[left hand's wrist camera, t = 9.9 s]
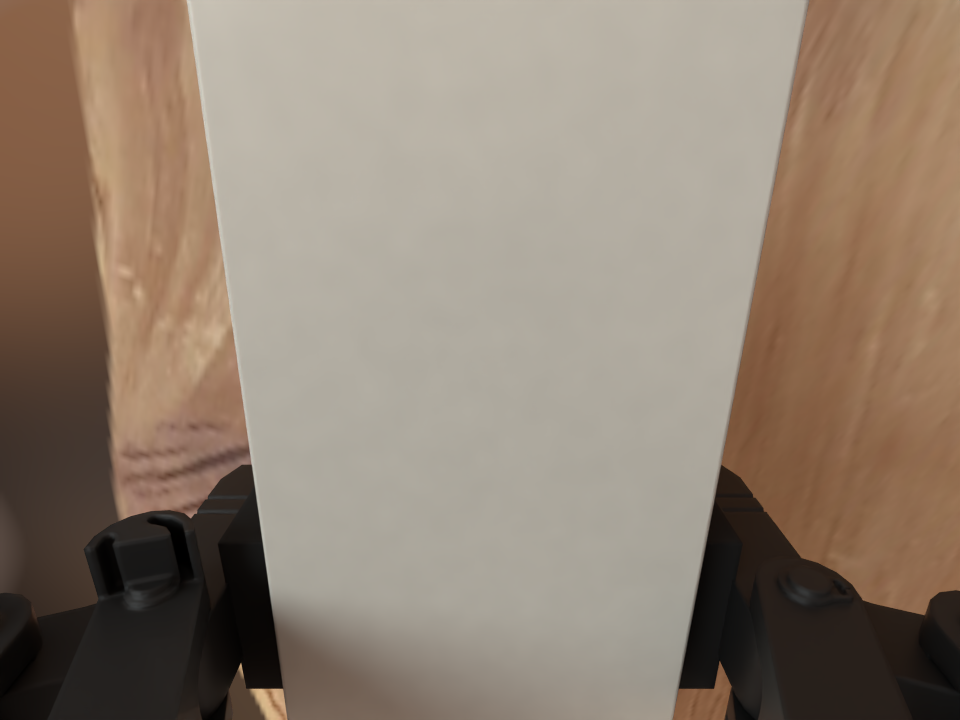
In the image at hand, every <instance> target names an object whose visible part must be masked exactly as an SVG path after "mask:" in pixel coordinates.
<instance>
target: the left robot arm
mask: <svg viewBox="0 0 960 720" xmlns="http://www.w3.org/2000/svg"><path fill="white" fill-rule="evenodd" d="M84 552H85V555H86V558H87V562H88V565H89V568H90V572H91V575H92V578H93V582H94V585H95V588H96V592H97V595H98V598H99V599H98V602H97V604H93V605H90V606H87V607H82V608H78V609H74V610H69V611H65V612H60V613H56V614H51V615H47V616H42V617H38V618H36V615H35V612H34V609H33V606H32V604H31V602H30V601H29V600H28V599H26V598H25V597H24V596H23V595H19V594H11V593H1V594H0V720H232V717H233V709H232V702H231V696H230V691H229V688H230V686H231V683H232V681H233V679H234V677H235V675H236V672H237V670H238V668H239V666H240V664H242V669H243V674H244V679H245V684H246V688H247V689H283V683H282V676H281V669H280V662H279V655H278V647H277V640H276V633H275V626H274V619H273V612H272V605H271V597H270V590H269V583H268V576H267V569H266V562H265V555H264V547H263V540H262V533H261V526H260V519H259V512H258V505H257V497H256V490H255V483H254V476H253V469H252V465H241V466H240V467H238V468H237V469H235V470H234V471H232V472H231V473H229V474H228V475H226V476H225V477H223V478H222V479H221V480H220V481H219V482H218V484H217V485H216V486H215V488H214V489H213V490H212V492H211V493H210V494H209V496H208V500H205V501H204V502H203V504H202V505H201V506H200V508H199V509H198V510H197V514H194V515H193V517H192V518H191V519H190V518H189V517H188V516H187V515H186V514H184V513H180V512H175V511H171V510H165V511H150V512H146V513H142V514H138V515H134V516H130V517H128V518H126V519H123V520H121V521H119V522H117V523H114V524H112V525H110V526H109V527H107V528H106V529H104V530H103V531H101V532H100V533H99V534H97V535H96V536H94V537H93V539H92V540H91V541H90V542H89V544H88V545H87V546H86V547H85V548H84ZM719 661H720V662H721V664H722V666H723V668H724V671H725V673H726V675H727V677H728V679H729V682H730V684H731V686H732V687H731V691H730V696H729V701H728V705H727V710H726V715H725V720H960V591H957V590H955V591H947V592H940V593H938V594H937V595H936V596H934V597H933V598H932V599H931V600H930V602H929V605H928V608H927V611H926V614H925V615H920V614H916V613H911V612H907V611H903V610H898V609H894V608H889V607H885V606H880V605H876V604H872V603H869V602H865V601H862V598H861V597H860V595H859V594H858V593H857V591H856V590H855V588H854V587H853V585H852V584H850V583H849V582H848V581H847V580H845V579H844V578H843V577H842V576H840V575H839V574H838V573H837V572H835V571H833V570H831V569H829V568H827V567H825V566H823V565H821V564H819V563H816V562H813V561H809V560H806V559H802V558H801V557H800V556H799V554H798V553H797V552H796V550H795V549H794V548H793V547H792V545H791V544H790V543H789V541H788V540H787V539H786V537H785V536H784V535H783V533H782V532H781V531H780V529H779V528H778V527H777V525H776V524H775V523H774V522H773V520H772V519H771V518H770V516H769V515H768V514H767V512H764V510H763V507H762V506H761V504H760V503H759V502H758V500H757V499H756V498H753V494H752V493H751V491H750V490H749V489H748V487H747V486H746V485H745V483H744V482H743V481H742V479H741V478H740V477H739V476H737V475H736V474H734V473H733V472H731V471H730V470H728V469H727V468H725V467H724V466H722V465H721V468H720V473H719V479H718V484H717V489H716V495H715V500H714V505H713V510H712V516H711V521H710V526H709V531H708V537H707V542H706V547H705V552H704V558H703V563H702V568H701V574H700V579H699V584H698V589H697V595H696V600H695V605H694V610H693V616H692V621H691V626H690V632H689V637H688V642H687V647H686V653H685V658H684V663H683V668H682V674H681V679H680V684H679V689H714V686H715V681H716V676H717V671H718V666H719Z"/></svg>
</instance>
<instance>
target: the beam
mask: <svg viewBox="0 0 960 720" xmlns="http://www.w3.org/2000/svg"><path fill="white" fill-rule="evenodd" d="M808 4H809V0H187V5H188V12H189V19H190V26H191V33H192V40H193V48H194V55H195V62H196V69H197V76H198V83H199V90H200V98H201V105H202V112H203V119H204V126H205V133H206V140H207V148H208V155H209V162H210V169H211V176H212V183H213V190H214V198H215V205H216V212H217V219H218V226H219V233H220V240H221V247H222V255H223V262H224V269H225V276H226V283H227V290H228V297H229V305H230V312H231V319H232V326H233V333H234V340H235V347H236V355H237V362H238V369H239V376H240V383H241V390H242V397H243V405H244V412H245V419H246V426H247V433H248V440H249V447H250V455H251V462H252V469H253V476H254V483H255V490H256V497H257V505H258V512H259V519H260V526H261V533H262V540H263V547H264V555H265V562H266V569H267V576H268V583H269V590H270V597H271V605H272V612H273V619H274V626H275V633H276V640H277V647H278V655H279V662H280V669H281V676H282V683H283V690H284V697H285V705H286V712H287V719H288V720H673V716H674V711H675V705H676V700H677V695H678V690H679V684H680V679H681V674H682V668H683V663H684V658H685V653H686V647H687V642H688V637H689V632H690V626H691V621H692V616H693V610H694V605H695V600H696V595H697V589H698V584H699V579H700V574H701V568H702V563H703V558H704V552H705V547H706V542H707V537H708V531H709V526H710V521H711V516H712V510H713V505H714V500H715V495H716V489H717V484H718V479H719V473H720V468H721V463H722V458H723V452H724V447H725V442H726V437H727V431H728V426H729V421H730V415H731V410H732V405H733V400H734V394H735V389H736V384H737V379H738V373H739V368H740V363H741V358H742V352H743V347H744V342H745V336H746V331H747V326H748V321H749V315H750V310H751V305H752V300H753V294H754V289H755V284H756V278H757V273H758V268H759V263H760V257H761V252H762V247H763V242H764V236H765V231H766V226H767V220H768V215H769V210H770V205H771V199H772V194H773V189H774V184H775V178H776V173H777V168H778V163H779V157H780V152H781V147H782V141H783V136H784V131H785V126H786V120H787V115H788V110H789V105H790V99H791V94H792V89H793V83H794V78H795V73H796V68H797V62H798V57H799V52H800V47H801V41H802V36H803V31H804V26H805V20H806V15H807V10H808Z"/></svg>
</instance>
